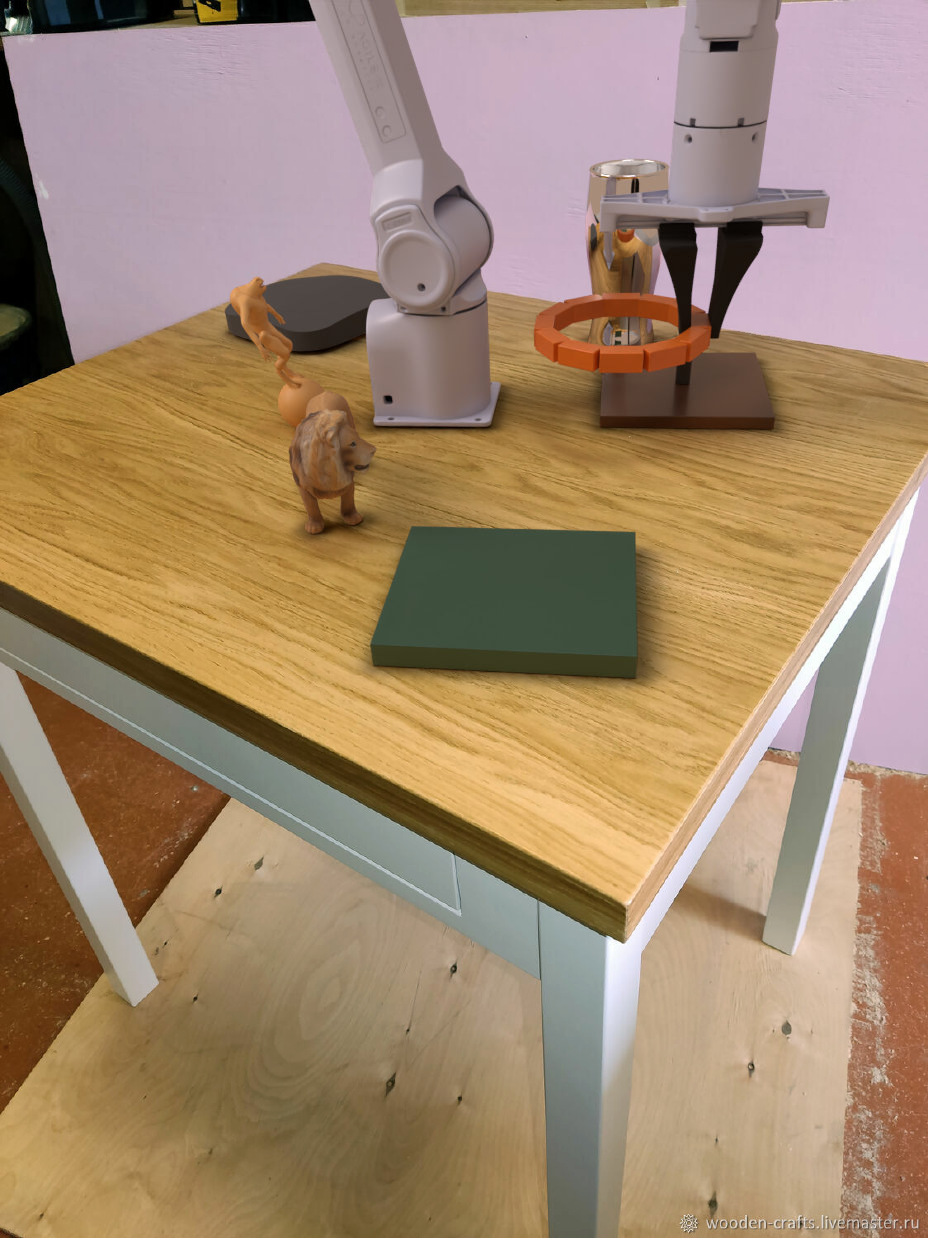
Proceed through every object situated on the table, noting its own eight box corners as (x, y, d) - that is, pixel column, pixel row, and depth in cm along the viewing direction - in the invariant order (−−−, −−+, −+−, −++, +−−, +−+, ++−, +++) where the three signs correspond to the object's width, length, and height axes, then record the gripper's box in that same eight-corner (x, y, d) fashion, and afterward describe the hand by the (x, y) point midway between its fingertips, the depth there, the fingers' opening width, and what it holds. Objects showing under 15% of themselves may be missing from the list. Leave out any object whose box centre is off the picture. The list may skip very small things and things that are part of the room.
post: (599, 427, 71) (601, 372, 68) (603, 363, 81) (604, 312, 78) (773, 429, 69) (782, 372, 66) (754, 363, 79) (761, 311, 76)
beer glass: (670, 337, 85) (685, 160, 76) (640, 363, 80) (651, 178, 71) (602, 326, 88) (608, 156, 79) (569, 351, 83) (571, 173, 74)
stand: (373, 665, 49) (369, 644, 48) (413, 545, 58) (411, 525, 58) (636, 678, 47) (637, 656, 46) (634, 551, 56) (635, 531, 56)
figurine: (327, 447, 70) (302, 290, 63) (250, 453, 70) (215, 297, 63) (335, 403, 77) (313, 256, 70) (264, 408, 77) (235, 262, 70)
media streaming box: (312, 361, 85) (306, 329, 83) (213, 333, 93) (206, 303, 91) (414, 314, 94) (412, 284, 92) (316, 292, 101) (312, 264, 100)
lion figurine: (391, 549, 58) (375, 419, 53) (308, 563, 57) (283, 433, 52) (360, 450, 70) (344, 334, 64) (290, 460, 69) (268, 344, 64)
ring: (529, 373, 62) (528, 353, 61) (541, 311, 72) (540, 293, 71) (715, 373, 60) (717, 352, 60) (701, 309, 70) (703, 291, 69)
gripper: (602, 136, 55) (594, 354, 63) (854, 127, 53) (812, 354, 61) (603, 116, 60) (596, 319, 69) (831, 107, 58) (796, 318, 67)
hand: (697, 333), depth 65 cm, fingers closed on ring, 1 cm apart
